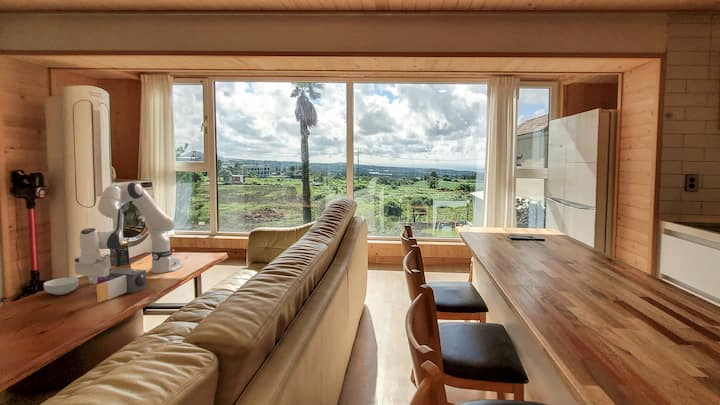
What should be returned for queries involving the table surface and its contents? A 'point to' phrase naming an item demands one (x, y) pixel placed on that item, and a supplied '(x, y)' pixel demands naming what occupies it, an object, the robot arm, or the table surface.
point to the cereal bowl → (61, 285)
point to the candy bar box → (108, 260)
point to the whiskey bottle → (120, 257)
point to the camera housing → (130, 278)
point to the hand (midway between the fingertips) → (93, 283)
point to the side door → (111, 288)
